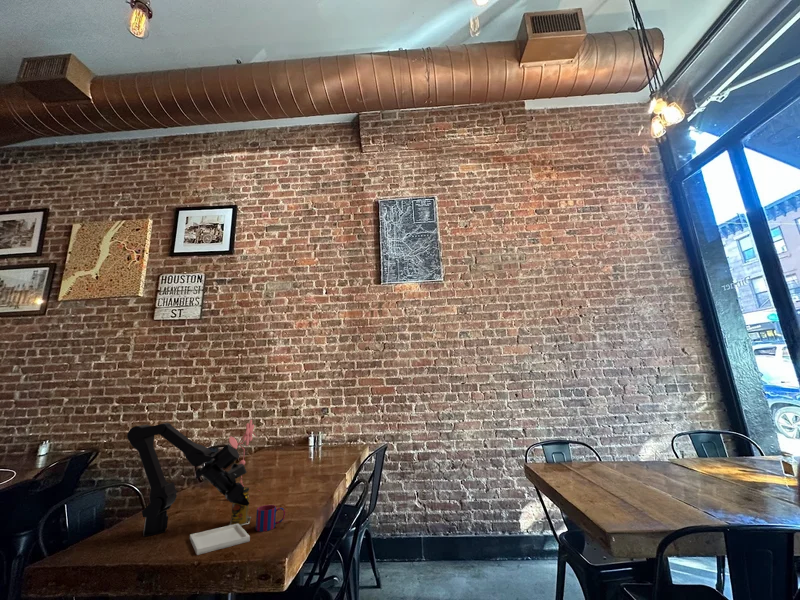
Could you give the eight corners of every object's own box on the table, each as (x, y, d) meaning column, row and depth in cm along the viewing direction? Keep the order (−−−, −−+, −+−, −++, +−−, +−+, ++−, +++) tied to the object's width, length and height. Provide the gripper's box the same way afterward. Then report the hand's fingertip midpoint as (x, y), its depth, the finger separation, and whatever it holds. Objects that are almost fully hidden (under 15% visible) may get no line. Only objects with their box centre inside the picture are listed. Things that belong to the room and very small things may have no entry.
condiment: (228, 527, 133) (230, 491, 136) (231, 519, 141) (233, 486, 143) (249, 524, 135) (251, 489, 138) (251, 517, 143) (253, 484, 146)
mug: (258, 525, 134) (259, 505, 135) (285, 523, 135) (286, 503, 136) (253, 532, 127) (254, 511, 129) (282, 530, 128) (283, 509, 130)
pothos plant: (217, 504, 159) (226, 422, 168) (238, 489, 184) (245, 418, 192) (252, 504, 160) (260, 421, 169) (269, 488, 185) (274, 417, 193)
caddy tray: (196, 555, 110) (197, 549, 111) (189, 539, 123) (190, 534, 123) (249, 541, 120) (250, 536, 120) (238, 527, 132) (238, 523, 132)
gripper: (240, 461, 134) (268, 488, 138) (228, 454, 148) (254, 479, 152) (214, 488, 127) (245, 515, 131) (205, 478, 142) (233, 503, 146)
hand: (245, 501), depth 140 cm, fingers open, 9 cm apart
